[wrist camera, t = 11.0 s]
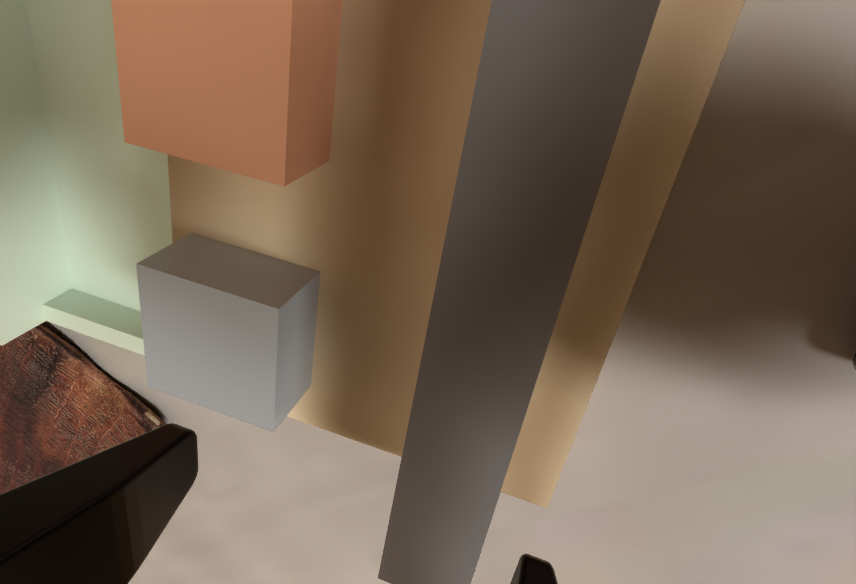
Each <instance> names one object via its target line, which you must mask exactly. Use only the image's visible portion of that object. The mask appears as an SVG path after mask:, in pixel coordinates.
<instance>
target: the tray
mask: <svg viewBox="0 0 856 584" xmlns="http://www.w3.org/2000/svg"><path fill="white" fill-rule="evenodd" d="M172 243H173V241H172V224H171V207H170V190H169V173H168V156H167V154H165V153H161V152H158V151H154V150H150V149H147V148H143V147H140V146H136V145H132V144H129V143H125V141H124V131H123V120H122V110H121V99H120V89H119V78H118V68H117V57H116V46H115V36H114V25H113V15H112V4H111V0H0V345H1V346H2V345H4V344H6V343H8V342H9V341H11V340H13V339H15V338H17V337H18V336H20V335H22V334H24V333H25V332H27V331H29V330H31V329H32V328H34V327H36V326H38V325H39V324H41V323H43V322H45V321H48V322H50V323H53V324H56V325H59V326H62V327H65V328H68V329H70V330H73V331H76V332H79V333H82V334H85V335H88V336H90V337H93V338H96V339H99V340H102V341H105V342H107V343H110V344H113V345H116V346H119V347H122V348H125V349H127V350H130V351H133V352H136V353H139V354H142V355H145V353H144V342H143V331H142V321H141V310H140V300H139V289H138V279H137V268H136V263H138V262H140V261H142V260H143V259H145V258H147V257H149V256H151V255H152V254H154V253H156V252H158V251H160V250H161V249H163V248H165V247H167V246H169V245H171V244H172Z"/></svg>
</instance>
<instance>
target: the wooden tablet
mask: <svg viewBox="0 0 856 584" xmlns="http://www.w3.org/2000/svg"><path fill="white" fill-rule="evenodd" d="M163 425H166V424H165V423H164V422H163V420H161V419H160V418H159V417H158V416H157V415H156V414H154V413H153V412H152V411H151V410H150V408H148V407H147V406H145V405H144V404H143V403H142V402H141V401H140V400H139V399H137V398H136V397H135V396H134V395H133V394H132V393H131V392H129V391H127V390H125V389H123V388H122V387H121V386H119V385H118V384H116V383H115V382H113V381H112V380H111V379H110V378H109V377H108V376H106V375H105V374H104V373H103V372H101V371H100V370H99V369H97V367H96V366H95V365H94V364H93V363H92V362H91V361H90V360H89V359H88V358H87V357H86V356H84V355H83V354H82V353H81V352H80V351H78V350H77V349H76V348H75V347H73V346H72V345H71V344H69V343H68V342H66V341H64V340H63V339H61V338H60V337H59V336H57V335H56V334H55V333H53V332H52V331H51V330H49V329H48V328H47V327H45V326H43V325H42V324H39V325H38V326H36V327H34V328H32V329H31V330H29V331H27V332H25V333H24V334H22V335H20V336H18V337H17V338H15V339H13V340H11V341H9V342H8V343H6V344H4V345H2V346H1V345H0V494H2V493H5V492H7V491H9V490H12V489H14V488H17V487H19V486H21V485H24V484H26V483H28V482H31V481H33V480H35V479H38V478H40V477H43V476H45V475H47V474H50V473H52V472H54V471H57V470H59V469H61V468H64V467H66V466H69V465H71V464H73V463H76V462H78V461H80V460H83V459H85V458H88V457H90V456H92V455H95V454H97V453H99V452H102V451H104V450H106V449H109V448H111V447H114V446H116V445H118V444H121V443H123V442H125V441H128V440H130V439H133V438H135V437H137V436H140V435H142V434H144V433H147V432H149V431H151V430H154V429H156V428H159V427H161V426H163Z"/></svg>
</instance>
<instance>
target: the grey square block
mask: <svg viewBox="0 0 856 584" xmlns="http://www.w3.org/2000/svg"><path fill="white" fill-rule="evenodd" d="M136 268H137V279H138V289H139V300H140V310H141V321H142V331H143V342H144V353H145V363H146V374H147V384H148V387H150V388H152V389H155V390H158V391H161V392H163V393H166V394H169V395H172V396H175V397H177V398H180V399H183V400H186V401H188V402H191V403H194V404H197V405H199V406H202V407H205V408H208V409H211V410H213V411H216V412H219V413H222V414H224V415H227V416H230V417H233V418H235V419H238V420H241V421H244V422H247V423H249V424H252V425H255V426H258V427H260V428H263V429H266V430H269V431H271V432H274V431H275V430H276V429H277V427H278V426H279V425H280V424H281V422H282V421H283V420H284V419H285V417H286V416H287V415H288V414H289V412H290V411H291V410H292V409H293V407H294V406H295V405H296V404H297V402H298V401H299V400H300V399H301V397H302V396H303V395H304V394H305V392H306V391H307V390H308V389H309V387H310V386H311V379H312V367H313V355H314V343H315V331H316V319H317V306H318V294H319V282H320V271H317V270H314V269H311V268H307V267H304V266H301V265H298V264H294V263H291V262H288V261H284V260H281V259H278V258H274V257H271V256H268V255H264V254H261V253H258V252H254V251H251V250H248V249H245V248H241V247H238V246H235V245H231V244H228V243H225V242H221V241H218V240H215V239H211V238H208V237H205V236H202V235H198V234H195V233H190V234H189V235H187V236H185V237H183V238H181V239H180V240H178V241H176V242H174V243H172V244H171V245H169V246H167V247H165V248H163V249H161V250H160V251H158V252H156V253H154V254H152V255H151V256H149V257H147V258H145V259H143V260H142V261H140V262H138V263H136Z"/></svg>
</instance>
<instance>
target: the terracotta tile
mask: <svg viewBox="0 0 856 584" xmlns="http://www.w3.org/2000/svg"><path fill="white" fill-rule="evenodd" d="M342 3H343V0H111V4H112V15H113V25H114V36H115V46H116V57H117V68H118V78H119V89H120V99H121V110H122V120H123V131H124V141H125V143H129V144H132V145H136V146H140V147H143V148H147V149H150V150H154V151H158V152H161V153H165V154H169V155H172V156H176V157H179V158H183V159H187V160H190V161H194V162H197V163H201V164H205V165H208V166H212V167H215V168H219V169H223V170H226V171H230V172H233V173H237V174H241V175H244V176H248V177H251V178H255V179H259V180H262V181H266V182H269V183H273V184H277V185H280V186H284V187H285V186H286V185H288V184H290V183H292V182H293V181H295V180H297V179H299V178H300V177H302V176H304V175H306V174H307V173H309V172H311V171H313V170H314V169H316V168H318V167H320V166H321V165H323V164H325V163H327V162H328V161H330V148H331V136H332V124H333V112H334V100H335V88H336V76H337V63H338V51H339V39H340V27H341V15H342Z"/></svg>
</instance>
